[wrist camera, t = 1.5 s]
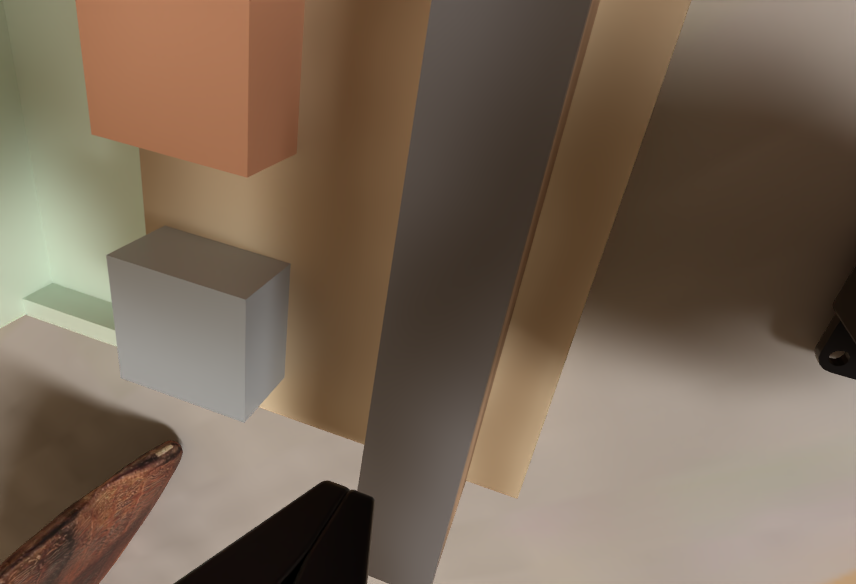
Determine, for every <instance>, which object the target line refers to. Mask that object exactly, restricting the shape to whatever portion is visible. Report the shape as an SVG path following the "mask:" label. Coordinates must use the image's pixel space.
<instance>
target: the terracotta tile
mask: <svg viewBox="0 0 856 584" xmlns="http://www.w3.org/2000/svg"><path fill="white" fill-rule="evenodd" d="M75 2H76V10H77V19H78V27H79V35H80V43H81V52H82V60H83V68H84V77H85V85H86V93H87V101H88V110H89V118H90V126H91V134H92V135H96V136H99V137H103V138H106V139H110V140H113V141H117V142H121V143H124V144H128V145H131V146H135V147H139V148H142V149H146V150H149V151H153V152H157V153H160V154H164V155H167V156H171V157H175V158H178V159H182V160H185V161H189V162H193V163H196V164H200V165H203V166H207V167H211V168H214V169H218V170H221V171H225V172H229V173H232V174H236V175H239V176H243V177H246V178H248V177H250V176H252V175H254V174H256V173H258V172H260V171H262V170H264V169H266V168H268V167H270V166H272V165H274V164H276V163H278V162H280V161H282V160H284V159H287V158H289V157H291V156H293V155H295V154H297V137H298V119H299V100H300V82H301V64H302V45H303V27H304V8H305V0H75Z"/></svg>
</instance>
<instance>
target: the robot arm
mask: <svg viewBox="0 0 856 584" xmlns="http://www.w3.org/2000/svg"><path fill="white" fill-rule="evenodd" d="M833 308H834V310H835V312H836V314H835V316H834V317H833V319H832V321H831V322H830V324H829V326H828V327H827V329H826V331H825V332H824V334H823V336H822V337H821V339H820V341H819V342H818V344H817V346H816V349H815V356H816V358H817V360H818V362H819V364H820V365H821V367H822V368H823V369H824V370H826V371H829V372H831V373H834V374H838V375H841V376H845V377H848V378H852V379H855V380H856V266H855V268H854V269H853V271H852V273H851V274H850V276H849V278H848V279H847V281H846V283H845V285H844V286H843V288H842V290H841V291H840V293H839V295H838V296H837V298H836V300H835V301H834V303H833ZM835 351H845V353H844V354H843V355H842V356H841V357H839V358H836V359H835V358H829V355H830V354H831V353H833V352H835ZM374 507H375V500H374V498H373V497H372V496H369V495H366V494H364V493H361V492H358V491H356V490H349V489H348V488H347V487H345V486H342V485H339V484H337V483H334V482H331V481H323V482H321V483H319V484H318V485H316V486H315V487H313V488H312V489H310V490H309V491H307V492H306V493H305V494H303V495H302V496H300V497H299V498H297V499H296V500H294V501H293V502H291V503H290V504H289V505H287V506H286V507H284V508H283V509H281V510H280V511H278V512H277V513H276V514H274V515H273V516H271V517H270V518H268V519H267V520H265V521H264V522H262V523H261V524H260V525H258V526H257V527H255V528H254V529H252V530H251V531H249V532H248V533H247V534H245V535H244V536H242V537H241V538H239V539H238V540H236V541H235V542H233V543H232V544H231V545H229V546H228V547H226V548H225V549H223V550H222V551H220V552H219V553H217V554H216V555H215V556H213V557H212V558H210V559H209V560H207V561H206V562H204V563H203V564H202V565H200V566H199V567H197V568H196V569H194V570H193V571H191V572H190V573H188V574H187V575H186V576H184V577H183V578H181V579H180V580H178V581H177V582H175V583H174V584H367V579H368V569H369V559H370V548H371V538H372V528H373V517H374Z"/></svg>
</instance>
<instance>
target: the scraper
mask: <svg viewBox="0 0 856 584" xmlns="http://www.w3.org/2000/svg"><path fill="white" fill-rule="evenodd" d="M599 3H600V0H432V1H431V7H430V14H429V20H428V27H427V34H426V40H425V47H424V53H423V60H422V67H421V73H420V80H419V87H418V93H417V100H416V106H415V113H414V120H413V126H412V133H411V140H410V146H409V153H408V159H407V166H406V173H405V179H404V186H403V193H402V199H401V206H400V212H399V219H398V226H397V232H396V239H395V246H394V252H393V259H392V265H391V272H390V279H389V285H388V292H387V299H386V305H385V312H384V318H383V325H382V332H381V338H380V345H379V352H378V358H377V365H376V371H375V378H374V385H373V391H372V398H371V404H370V411H369V418H368V424H367V431H366V438H365V444H364V451H363V457H362V464H361V471H360V477H359V484H358V492H361V493H364V494H366V495H369V496H372V497H373V498H374V500H375V507H374V517H373V528H372V538H371V548H370V559H369V569H368V575H369V576H371V577H374V578H376V579H379V580H381V581H384V582H386V583H389V584H433V581H434V577H435V573H436V570H437V567H438V564H439V561H440V558H441V555H442V552H443V549H444V546H445V542H446V539H447V536H448V533H449V530H450V527H451V524H452V521H453V518H454V515H455V512H456V509H457V506H458V503H459V500H460V497H461V494H462V491H463V488H464V485H465V482H466V479H467V475H468V471H469V468H470V464H471V461H472V457H473V454H474V450H475V446H476V443H477V439H478V436H479V432H480V429H481V425H482V421H483V418H484V414H485V411H486V407H487V404H488V400H489V396H490V393H491V389H492V386H493V382H494V379H495V375H496V371H497V368H498V364H499V361H500V357H501V354H502V350H503V346H504V343H505V339H506V336H507V332H508V329H509V325H510V321H511V318H512V314H513V311H514V307H515V304H516V300H517V296H518V293H519V289H520V286H521V282H522V279H523V275H524V271H525V268H526V264H527V261H528V257H529V254H530V250H531V246H532V243H533V239H534V236H535V232H536V228H537V225H538V221H539V218H540V214H541V211H542V207H543V203H544V200H545V196H546V193H547V189H548V186H549V182H550V178H551V175H552V171H553V168H554V164H555V161H556V157H557V153H558V150H559V146H560V143H561V139H562V136H563V132H564V128H565V125H566V121H567V118H568V114H569V111H570V107H571V103H572V100H573V96H574V93H575V89H576V86H577V82H578V78H579V75H580V71H581V68H582V64H583V61H584V57H585V53H586V50H587V46H588V43H589V39H590V36H591V32H592V28H593V25H594V21H595V18H596V14H597V11H598V7H599Z"/></svg>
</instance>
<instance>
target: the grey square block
mask: <svg viewBox="0 0 856 584" xmlns="http://www.w3.org/2000/svg"><path fill="white" fill-rule="evenodd" d="M106 259H107V267H108V275H109V283H110V292H111V300H112V308H113V316H114V325H115V333H116V341H117V350H118V358H119V366H120V374H121V378H122V379H125V380H127V381H130V382H133V383H136V384H139V385H141V386H144V387H147V388H150V389H152V390H155V391H158V392H161V393H163V394H166V395H169V396H172V397H175V398H177V399H180V400H183V401H186V402H188V403H191V404H194V405H197V406H199V407H202V408H205V409H208V410H210V411H213V412H216V413H219V414H222V415H224V416H227V417H230V418H233V419H235V420H238V421H241V422H244V423H245V421H246V420H247V419H248V418H249V417H250V416H251V415H252V414H253V412H254V411H255V410H256V409H257V408H258V407H259V406H260V405H261V403H262V402H263V401H264V400H265V399H266V398H267V397H268V396H269V394H270V393H271V392H272V391H273V390H274V389H275V388H276V387H277V385H278V384H279V383H280V382H281V381H282V380H283V379H284V376H285V358H286V339H287V321H288V303H289V284H290V266H291V264H290V263H287V262H284V261H281V260H277V259H274V258H271V257H267V256H264V255H261V254H257V253H254V252H251V251H247V250H244V249H241V248H238V247H234V246H231V245H228V244H224V243H221V242H218V241H214V240H211V239H208V238H205V237H201V236H198V235H195V234H191V233H188V232H185V231H181V230H178V229H175V228H172V227H168V226H163V227H161V228H159V229H157V230H155V231H153V232H151V233H149V234H147V235H145V236H143V237H141V238H139V239H137V240H135V241H133V242H131V243H129V244H127V245H125V246H123V247H121V248H119V249H117V250H115V251H113V252H111V253H109V254H107V255H106Z"/></svg>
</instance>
